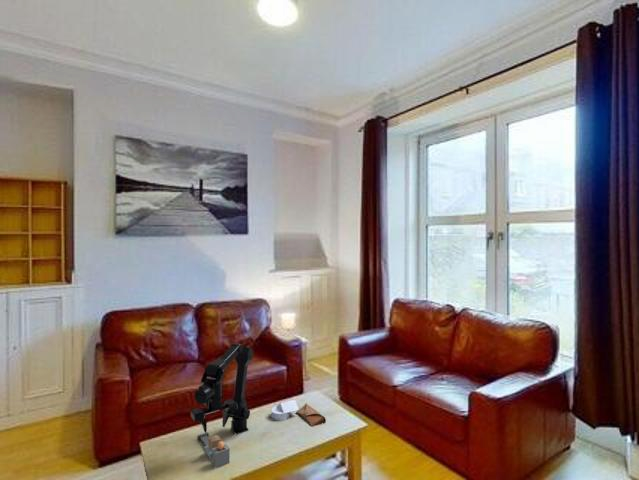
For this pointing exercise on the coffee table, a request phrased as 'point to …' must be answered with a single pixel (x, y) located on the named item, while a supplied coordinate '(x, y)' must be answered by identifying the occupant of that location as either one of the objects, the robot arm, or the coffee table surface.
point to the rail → (203, 438)
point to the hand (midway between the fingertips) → (214, 429)
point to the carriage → (212, 444)
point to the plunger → (220, 445)
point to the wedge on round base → (284, 410)
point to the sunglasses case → (311, 415)
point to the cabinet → (220, 456)
